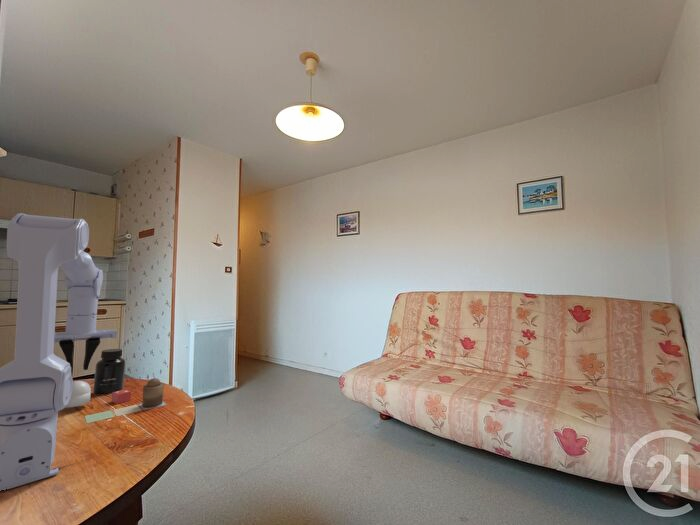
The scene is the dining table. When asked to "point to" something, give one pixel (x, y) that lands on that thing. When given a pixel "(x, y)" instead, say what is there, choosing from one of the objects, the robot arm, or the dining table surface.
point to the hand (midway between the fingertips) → (77, 370)
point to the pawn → (152, 393)
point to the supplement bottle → (109, 372)
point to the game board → (116, 413)
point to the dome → (79, 394)
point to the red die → (121, 396)
